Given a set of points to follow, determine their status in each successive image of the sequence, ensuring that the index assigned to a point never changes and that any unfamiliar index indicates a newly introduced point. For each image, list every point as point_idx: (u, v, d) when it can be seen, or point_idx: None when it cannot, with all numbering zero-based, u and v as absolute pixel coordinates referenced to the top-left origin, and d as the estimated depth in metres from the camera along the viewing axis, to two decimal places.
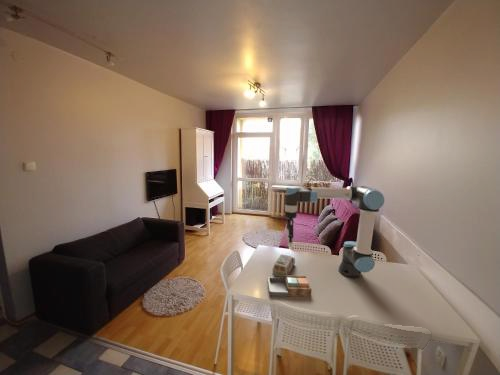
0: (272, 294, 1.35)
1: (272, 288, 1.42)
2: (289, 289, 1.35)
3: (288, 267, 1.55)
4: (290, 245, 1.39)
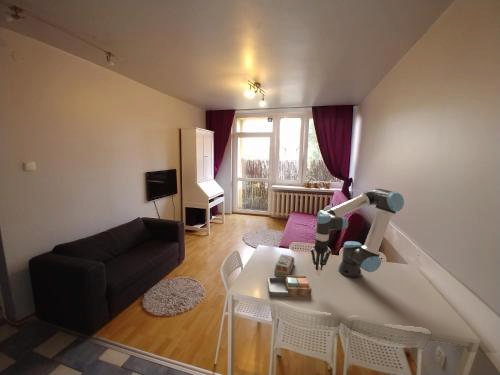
0: (272, 294, 1.35)
1: (272, 288, 1.42)
2: (289, 289, 1.35)
3: (290, 267, 1.55)
4: (317, 273, 1.40)
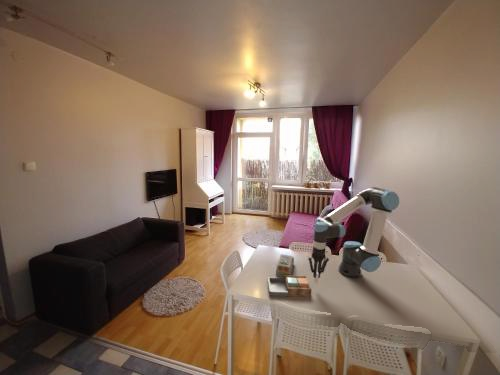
0: (272, 294, 1.35)
1: (272, 288, 1.42)
2: (289, 289, 1.35)
3: (291, 267, 1.55)
4: (315, 280, 1.41)
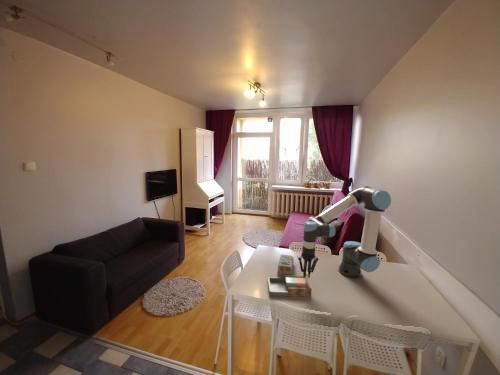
0: (272, 294, 1.35)
1: (272, 288, 1.42)
2: (289, 289, 1.35)
3: (292, 267, 1.55)
4: (305, 280, 1.41)
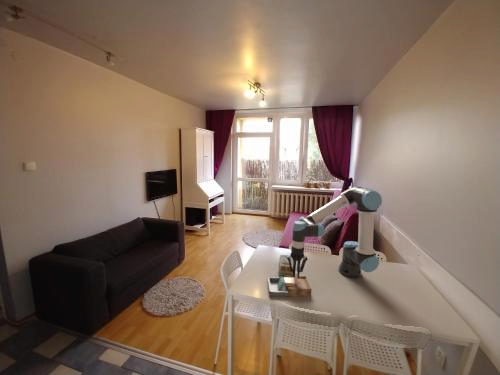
0: (272, 294, 1.35)
1: (272, 288, 1.42)
2: (289, 289, 1.35)
3: None
4: (294, 279, 1.41)
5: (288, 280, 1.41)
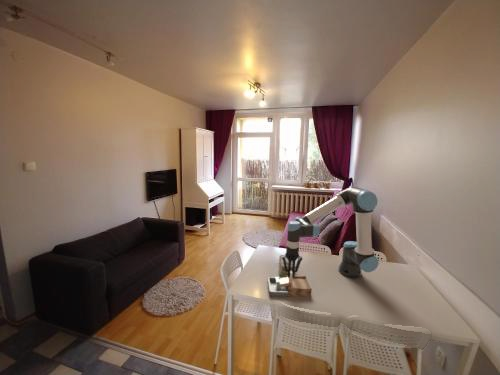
0: (272, 294, 1.35)
1: (272, 288, 1.42)
2: (289, 289, 1.35)
3: None
4: (289, 280, 1.41)
5: (282, 281, 1.41)
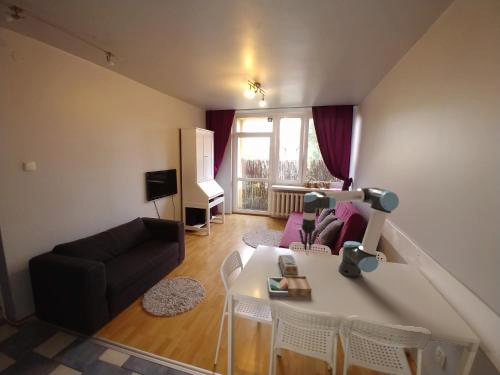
0: (272, 294, 1.35)
1: (272, 288, 1.42)
2: (289, 289, 1.35)
3: None
4: (305, 252, 1.41)
5: (281, 284, 1.42)
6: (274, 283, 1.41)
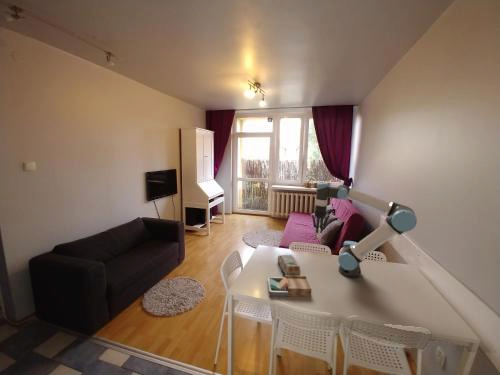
0: (272, 294, 1.35)
1: (272, 288, 1.42)
2: (289, 289, 1.35)
3: None
4: (317, 235, 1.60)
5: (281, 284, 1.42)
6: (274, 283, 1.41)
